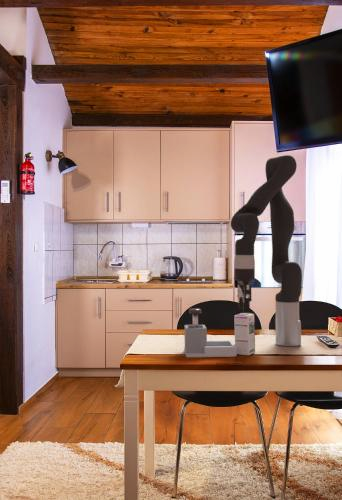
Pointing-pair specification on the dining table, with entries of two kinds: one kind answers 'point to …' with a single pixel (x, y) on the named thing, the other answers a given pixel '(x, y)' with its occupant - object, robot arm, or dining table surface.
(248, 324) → the syrup box
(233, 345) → the tray
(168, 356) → the dining table surface
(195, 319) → the black knob with stem
